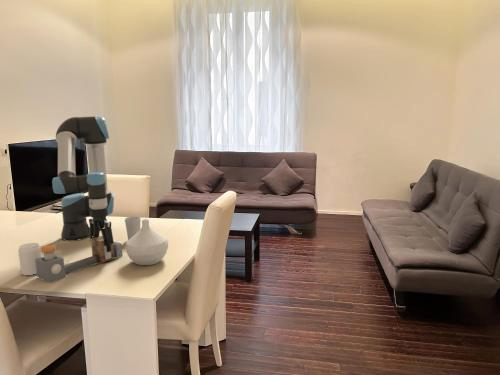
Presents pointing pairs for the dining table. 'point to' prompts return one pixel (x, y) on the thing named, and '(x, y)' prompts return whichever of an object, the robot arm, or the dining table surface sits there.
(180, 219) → the dining table surface
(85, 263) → the rail
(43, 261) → the housing
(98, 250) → the carriage
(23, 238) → the dining table surface
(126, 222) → the cup
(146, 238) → the vase
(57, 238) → the dining table surface
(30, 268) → the beverage can
